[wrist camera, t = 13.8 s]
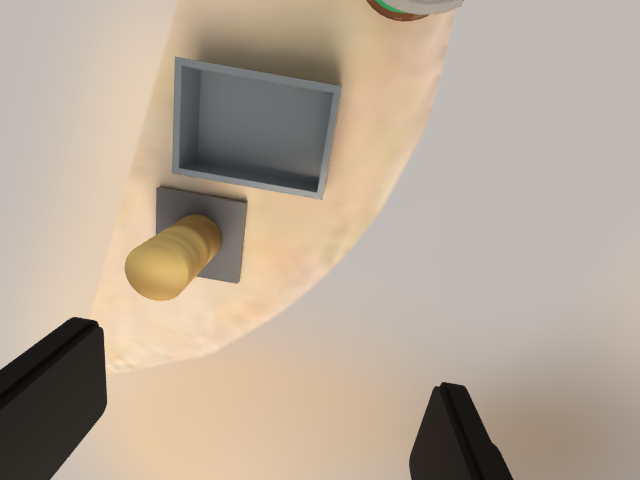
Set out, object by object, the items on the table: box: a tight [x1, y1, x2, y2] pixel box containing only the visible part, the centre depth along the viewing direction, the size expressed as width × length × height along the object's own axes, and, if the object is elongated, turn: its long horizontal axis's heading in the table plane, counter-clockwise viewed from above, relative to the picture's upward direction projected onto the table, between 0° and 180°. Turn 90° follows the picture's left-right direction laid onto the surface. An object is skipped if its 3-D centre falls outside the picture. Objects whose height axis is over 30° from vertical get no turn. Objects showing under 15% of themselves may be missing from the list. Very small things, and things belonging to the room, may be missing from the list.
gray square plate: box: [156, 187, 247, 284], centre depth 41 cm, size 10×10×1 cm
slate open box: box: [172, 57, 342, 200], centre depth 34 cm, size 10×15×5 cm
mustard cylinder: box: [125, 214, 222, 301], centre depth 35 cm, size 6×6×10 cm
